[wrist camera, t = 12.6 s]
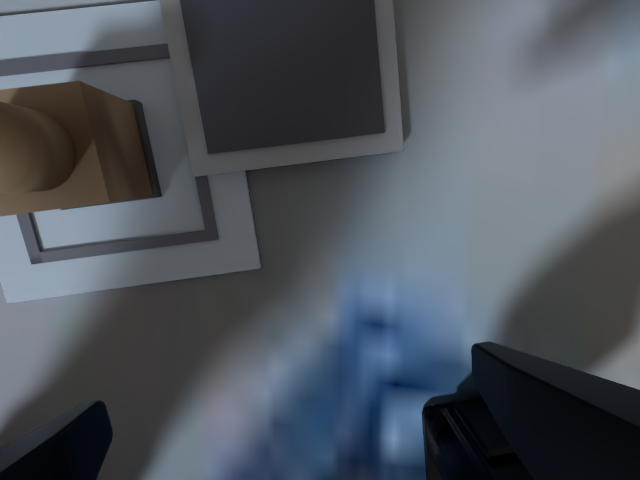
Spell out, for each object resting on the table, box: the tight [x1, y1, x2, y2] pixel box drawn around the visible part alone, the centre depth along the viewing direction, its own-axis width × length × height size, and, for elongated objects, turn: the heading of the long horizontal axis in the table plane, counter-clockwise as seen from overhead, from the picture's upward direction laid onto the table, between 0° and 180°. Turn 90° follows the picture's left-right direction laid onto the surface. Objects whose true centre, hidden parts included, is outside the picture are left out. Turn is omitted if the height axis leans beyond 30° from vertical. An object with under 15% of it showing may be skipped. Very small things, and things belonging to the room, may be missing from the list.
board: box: [0, 0, 261, 303], centre depth 18 cm, size 14×14×1 cm
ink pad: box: [159, 0, 404, 177], centre depth 17 cm, size 11×11×2 cm
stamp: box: [0, 81, 162, 217], centre depth 14 cm, size 5×5×8 cm
